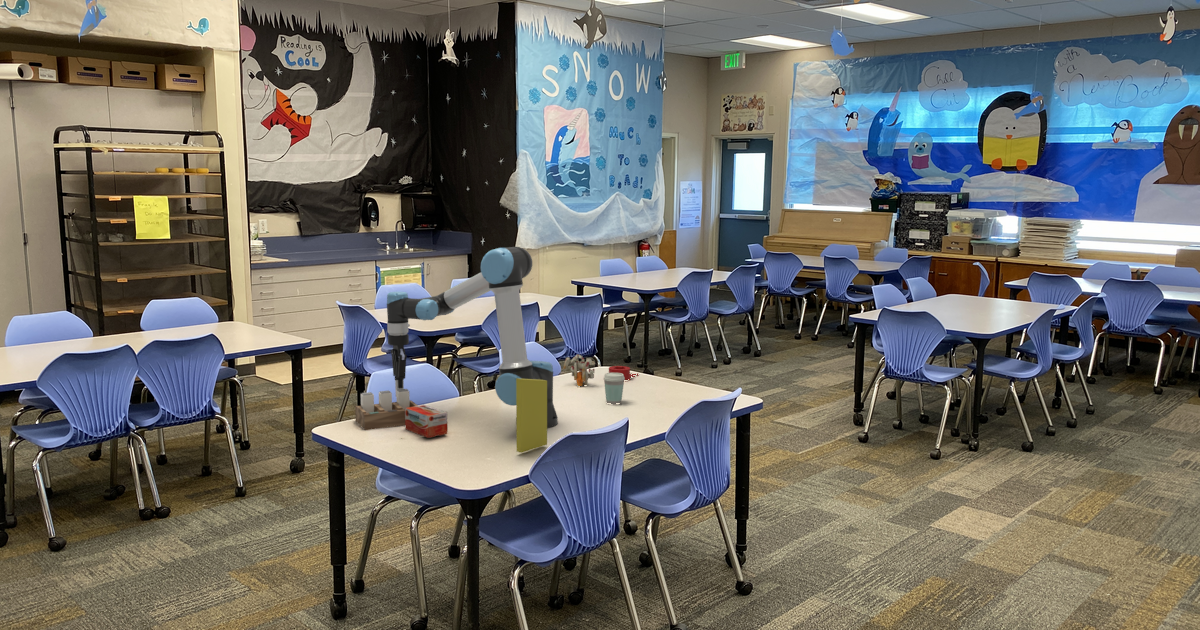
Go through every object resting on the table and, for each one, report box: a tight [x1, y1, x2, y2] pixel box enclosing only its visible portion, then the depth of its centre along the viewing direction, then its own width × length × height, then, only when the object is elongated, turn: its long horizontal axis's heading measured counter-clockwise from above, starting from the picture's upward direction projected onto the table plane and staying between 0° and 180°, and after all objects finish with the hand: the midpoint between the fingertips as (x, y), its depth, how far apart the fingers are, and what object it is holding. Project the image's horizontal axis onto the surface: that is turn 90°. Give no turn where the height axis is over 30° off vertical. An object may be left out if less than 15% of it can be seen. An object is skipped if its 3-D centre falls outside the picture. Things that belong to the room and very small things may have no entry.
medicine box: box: [405, 404, 449, 439], centre depth 298 cm, size 15×8×8 cm, turn 44°
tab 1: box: [360, 391, 375, 413], centre depth 309 cm, size 3×4×7 cm
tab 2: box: [378, 389, 393, 411], centre depth 312 cm, size 3×4×7 cm
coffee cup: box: [603, 372, 625, 404], centre depth 340 cm, size 8×8×12 cm
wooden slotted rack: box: [354, 399, 419, 431], centre depth 310 cm, size 14×20×6 cm
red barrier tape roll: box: [608, 365, 639, 380], centre depth 384 cm, size 18×9×7 cm, turn 140°
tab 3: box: [395, 388, 411, 409], centre depth 315 cm, size 3×4×7 cm
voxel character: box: [562, 354, 596, 387], centre depth 366 cm, size 11×10×15 cm
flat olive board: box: [515, 378, 548, 454], centre depth 279 cm, size 12×2×24 cm, turn 141°
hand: (399, 396), depth 319 cm, fingers closed
